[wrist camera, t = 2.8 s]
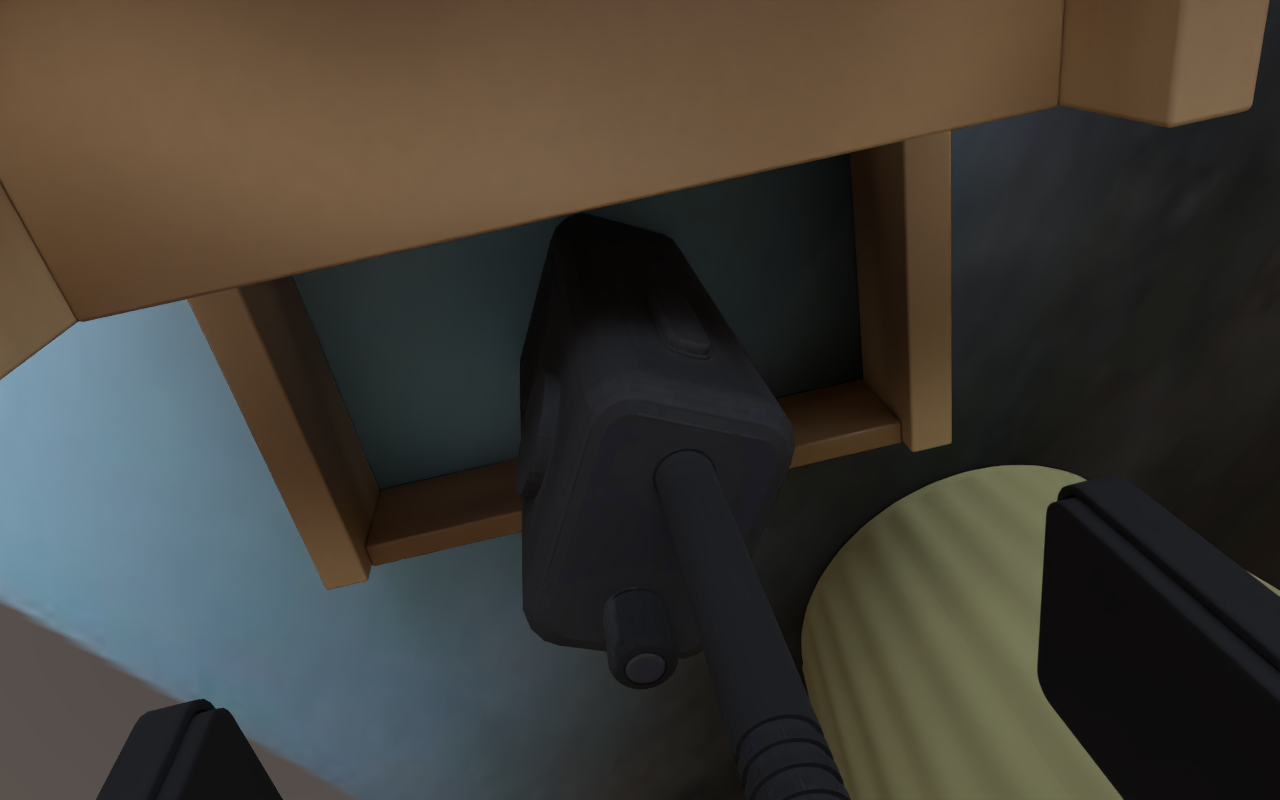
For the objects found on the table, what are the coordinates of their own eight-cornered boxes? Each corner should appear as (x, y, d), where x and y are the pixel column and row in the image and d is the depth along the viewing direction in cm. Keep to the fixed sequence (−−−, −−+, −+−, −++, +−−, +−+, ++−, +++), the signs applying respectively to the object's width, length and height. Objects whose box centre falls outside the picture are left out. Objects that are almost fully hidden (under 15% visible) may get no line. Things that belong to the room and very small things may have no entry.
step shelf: (21, -234, 14) (-872, -645, 5) (870, -400, 14) (1447, -1041, 5) (349, 516, 21) (229, 892, 12) (899, 389, 22) (1162, 661, 13)
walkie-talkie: (633, 407, 21) (840, 1130, 8) (504, 380, 20) (482, 1141, 7) (691, 228, 19) (1102, 780, 6) (551, 191, 18) (648, 734, 5)
